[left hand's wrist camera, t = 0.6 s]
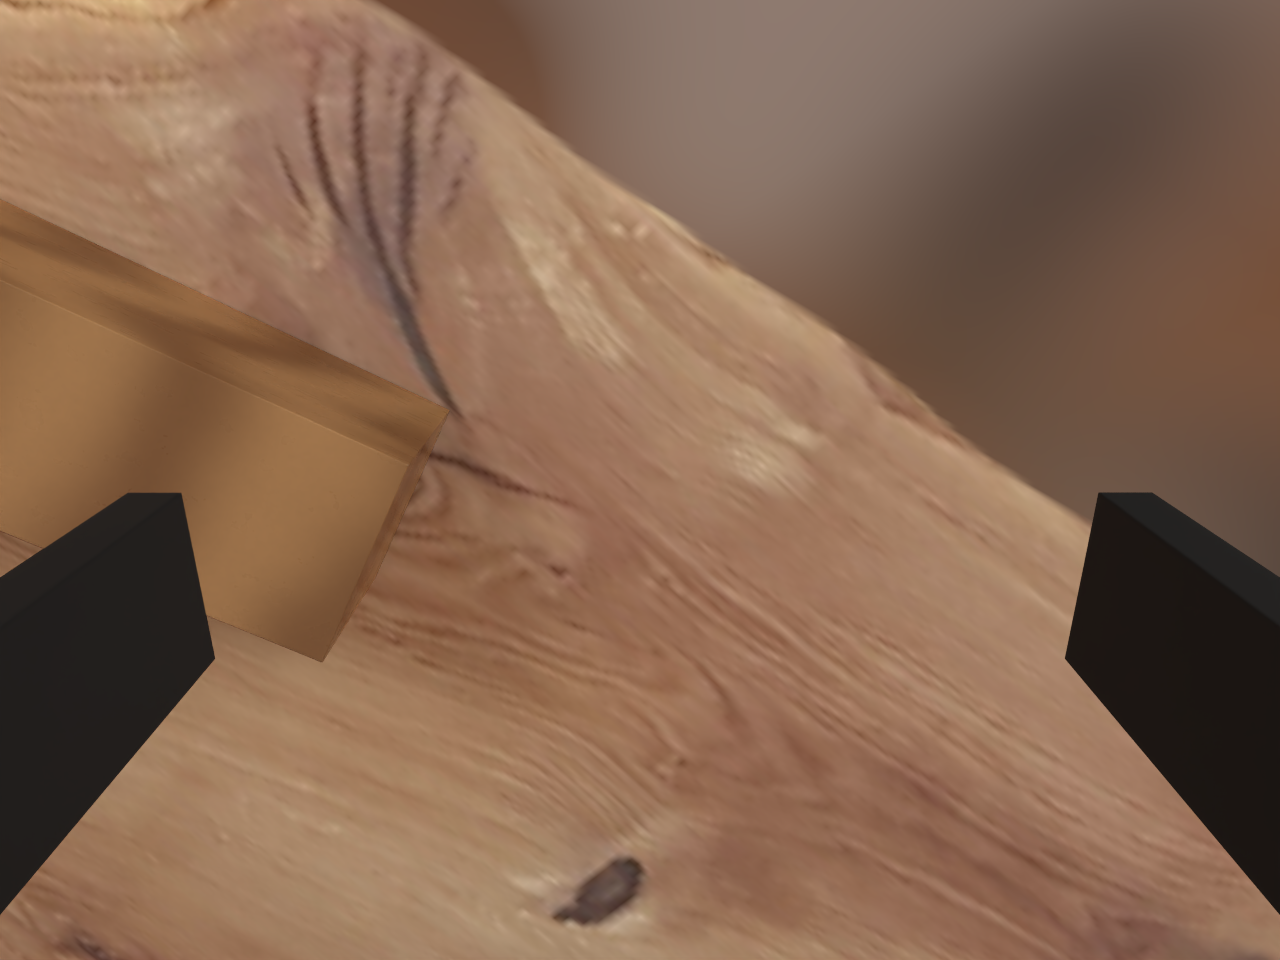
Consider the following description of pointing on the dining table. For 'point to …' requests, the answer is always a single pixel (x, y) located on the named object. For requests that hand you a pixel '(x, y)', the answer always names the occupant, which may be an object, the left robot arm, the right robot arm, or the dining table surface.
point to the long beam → (199, 432)
